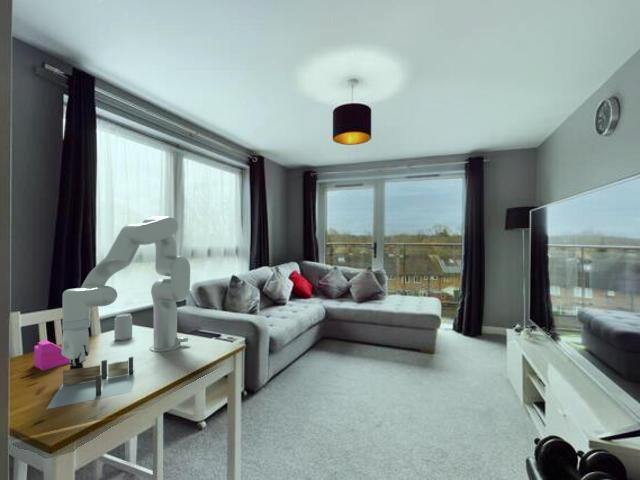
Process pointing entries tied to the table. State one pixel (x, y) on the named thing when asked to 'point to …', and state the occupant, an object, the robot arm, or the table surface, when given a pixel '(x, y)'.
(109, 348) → the table surface
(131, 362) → the fence fixed
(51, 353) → the magenta wedge-shaped piece
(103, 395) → the card
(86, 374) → the gate
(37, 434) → the table surface
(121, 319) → the can
